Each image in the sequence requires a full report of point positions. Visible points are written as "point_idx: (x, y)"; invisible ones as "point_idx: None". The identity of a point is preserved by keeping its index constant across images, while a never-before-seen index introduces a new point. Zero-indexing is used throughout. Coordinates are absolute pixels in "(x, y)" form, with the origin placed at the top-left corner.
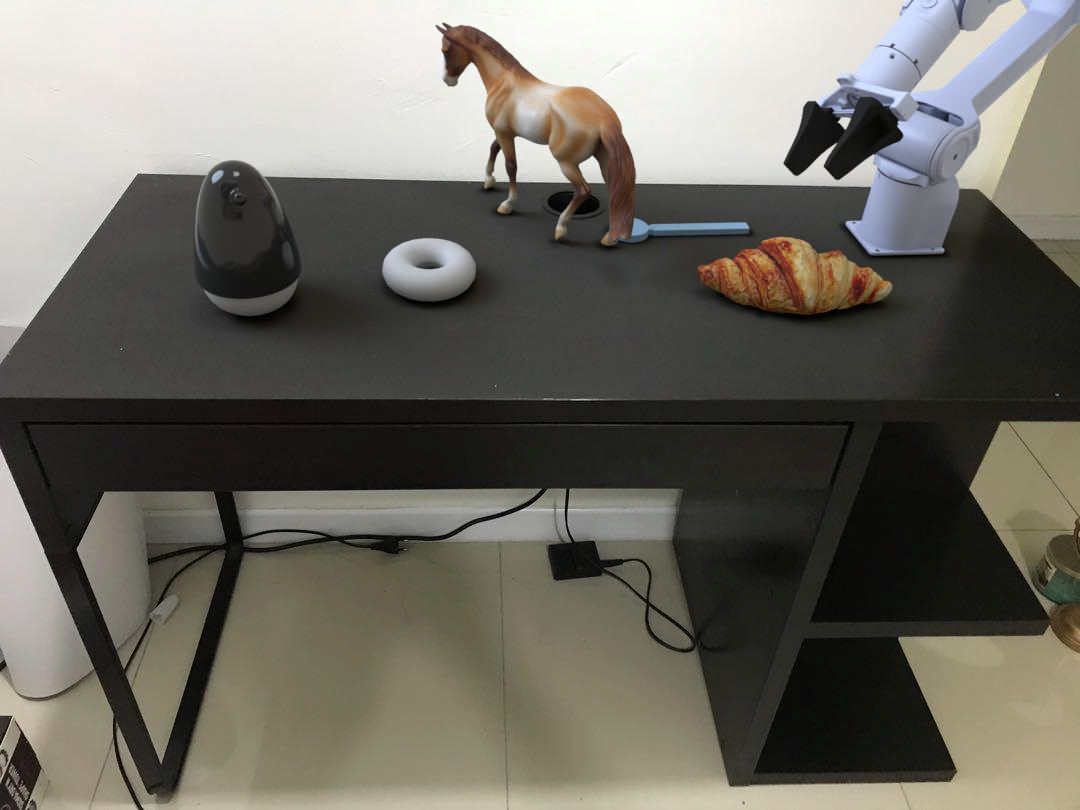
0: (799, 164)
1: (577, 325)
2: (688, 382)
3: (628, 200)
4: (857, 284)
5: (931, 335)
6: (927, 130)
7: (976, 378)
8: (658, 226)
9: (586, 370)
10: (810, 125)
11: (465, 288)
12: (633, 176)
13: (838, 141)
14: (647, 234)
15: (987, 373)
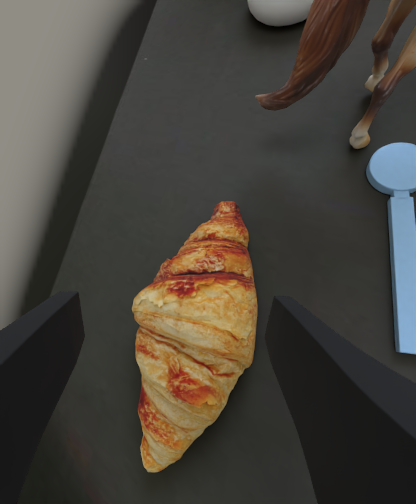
0: (275, 340)
1: (201, 106)
2: (108, 176)
3: (295, 65)
4: (141, 396)
5: (88, 470)
6: None
7: None
8: (404, 205)
9: (143, 110)
10: (356, 405)
11: (259, 19)
12: (309, 30)
13: (29, 335)
14: (383, 190)
15: None
